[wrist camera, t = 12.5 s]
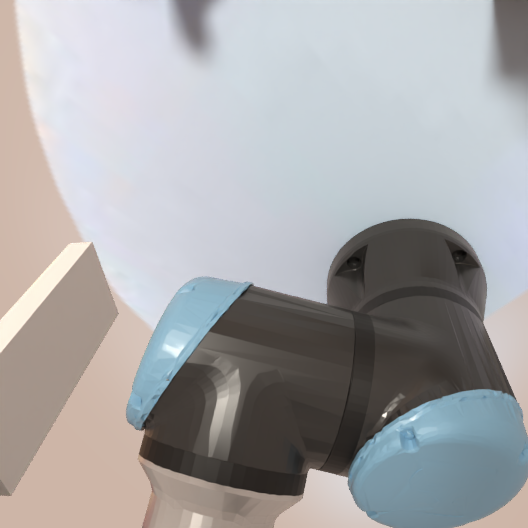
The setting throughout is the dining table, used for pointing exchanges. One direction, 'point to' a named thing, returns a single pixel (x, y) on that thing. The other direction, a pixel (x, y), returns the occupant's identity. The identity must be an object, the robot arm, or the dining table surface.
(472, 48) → the dining table surface
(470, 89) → the dining table surface
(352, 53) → the dining table surface
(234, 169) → the dining table surface
